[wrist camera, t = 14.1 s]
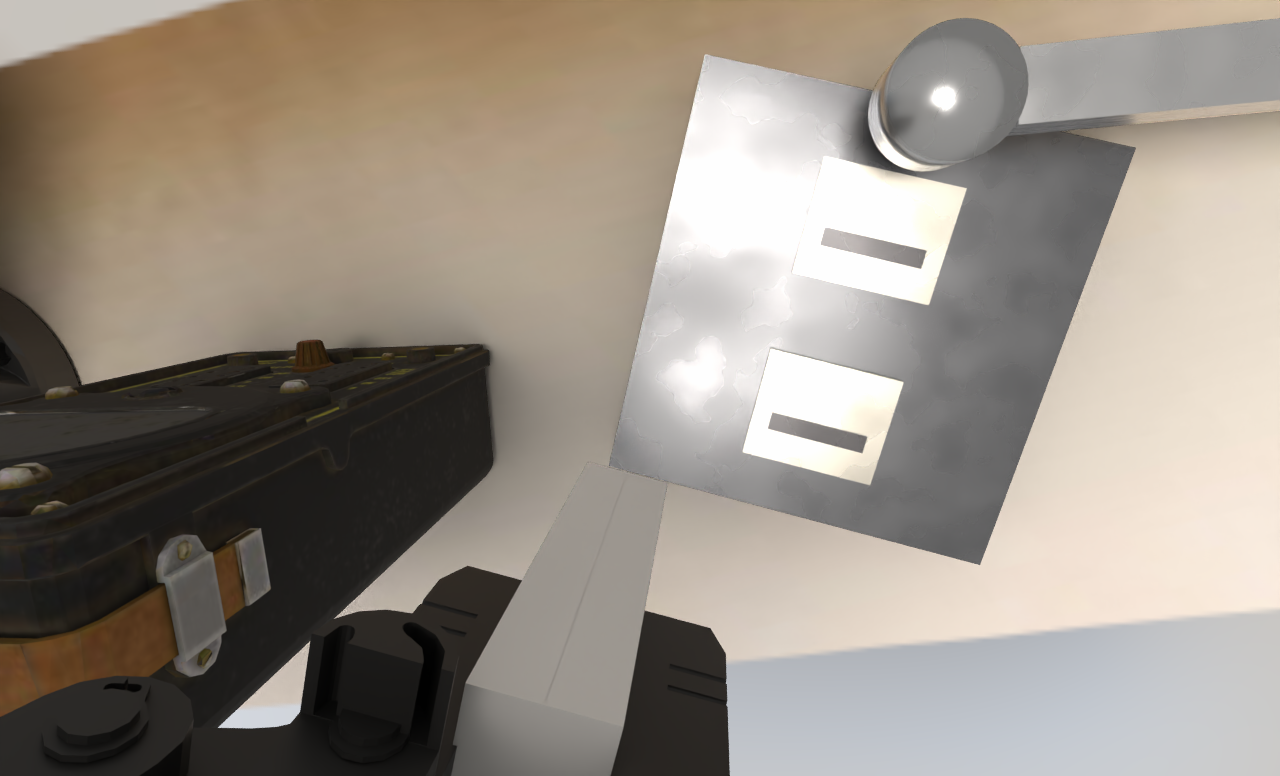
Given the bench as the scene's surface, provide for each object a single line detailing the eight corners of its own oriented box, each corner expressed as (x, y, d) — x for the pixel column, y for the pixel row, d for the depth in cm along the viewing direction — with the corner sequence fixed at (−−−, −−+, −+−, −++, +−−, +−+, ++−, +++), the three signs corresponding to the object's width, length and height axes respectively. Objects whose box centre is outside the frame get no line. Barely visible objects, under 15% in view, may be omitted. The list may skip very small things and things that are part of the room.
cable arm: (1490, 123, 24) (1617, 102, 21) (868, 176, 27) (888, 166, 24) (1511, -17, 23) (1647, -62, 20) (866, 54, 26) (887, 26, 23)
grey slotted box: (618, 448, 37) (597, 486, 31) (710, 59, 33) (704, 19, 27) (959, 538, 36) (1003, 596, 30) (1103, 145, 31) (1186, 122, 26)
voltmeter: (496, 324, 37) (34, 482, 12) (511, 483, 38) (128, 894, 14) (224, 335, 39) (-623, 487, 15) (248, 484, 41) (-474, 844, 16)
